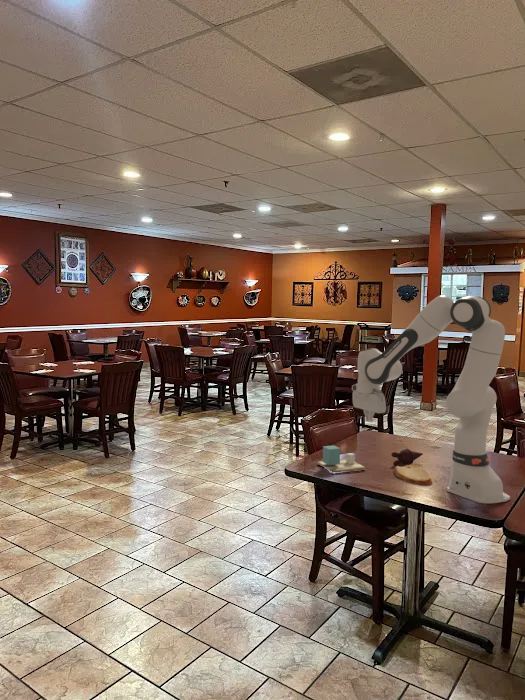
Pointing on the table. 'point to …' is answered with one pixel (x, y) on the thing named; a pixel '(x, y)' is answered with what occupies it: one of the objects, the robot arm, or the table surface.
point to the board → (343, 466)
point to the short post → (350, 458)
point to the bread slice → (413, 474)
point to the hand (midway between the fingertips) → (369, 420)
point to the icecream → (405, 457)
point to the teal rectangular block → (331, 455)
